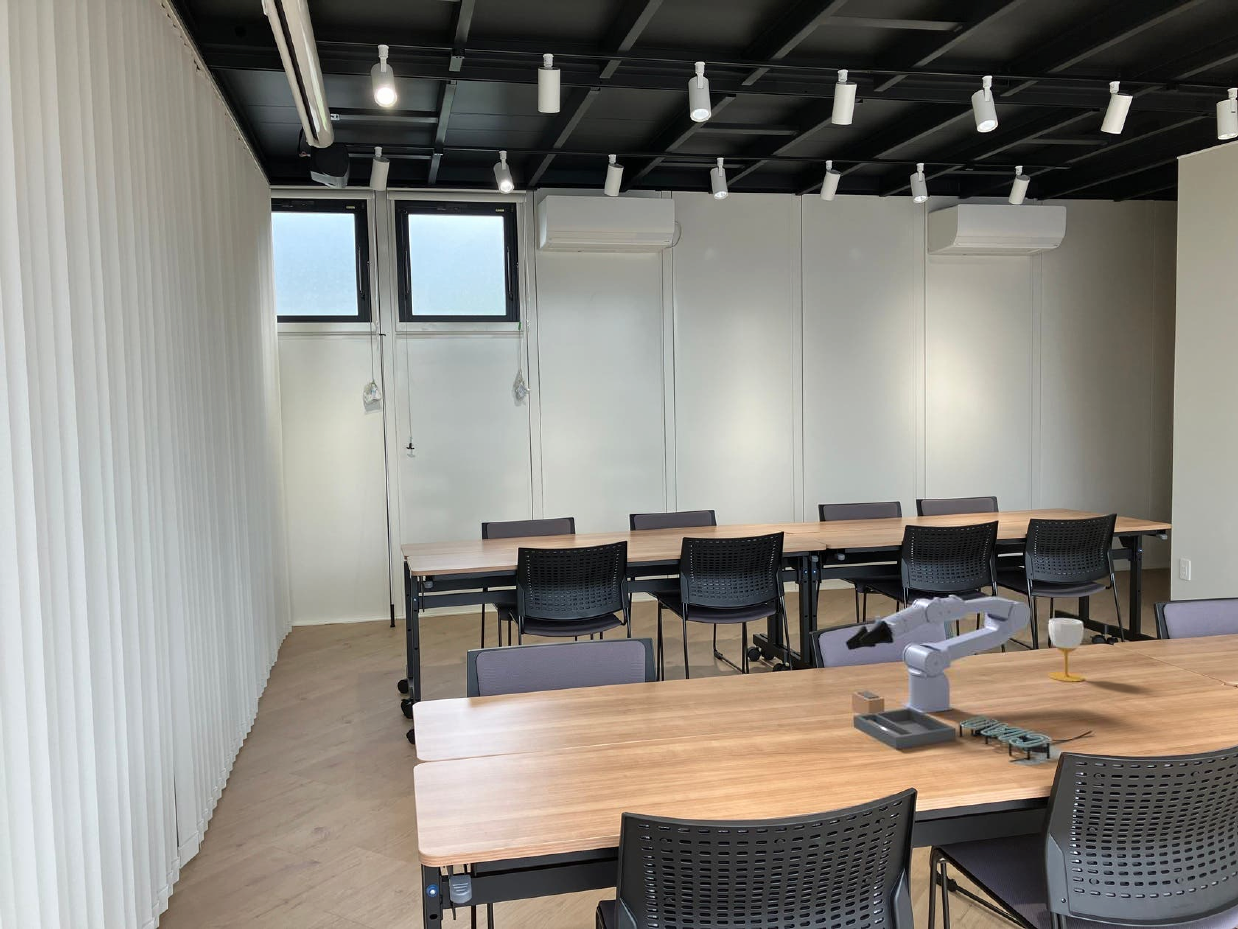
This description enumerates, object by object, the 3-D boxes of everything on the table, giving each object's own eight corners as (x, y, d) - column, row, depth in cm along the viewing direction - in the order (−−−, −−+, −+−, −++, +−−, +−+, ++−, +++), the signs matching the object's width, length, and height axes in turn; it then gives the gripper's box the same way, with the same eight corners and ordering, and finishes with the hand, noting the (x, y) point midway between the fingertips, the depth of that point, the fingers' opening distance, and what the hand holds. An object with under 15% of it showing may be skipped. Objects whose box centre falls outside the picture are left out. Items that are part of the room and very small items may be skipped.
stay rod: (865, 728, 201) (865, 720, 201) (873, 727, 202) (872, 718, 201) (898, 745, 190) (897, 737, 189) (905, 744, 190) (904, 735, 190)
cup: (1090, 681, 235) (1090, 624, 235) (1058, 682, 235) (1057, 625, 235) (1073, 672, 244) (1073, 617, 244) (1042, 673, 245) (1041, 618, 244)
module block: (867, 710, 216) (867, 689, 216) (884, 718, 209) (884, 697, 209) (852, 712, 214) (852, 691, 214) (868, 720, 208) (868, 699, 207)
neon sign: (1114, 725, 190) (1025, 750, 176) (1114, 744, 190) (1025, 770, 176) (1030, 700, 208) (945, 720, 195) (1031, 717, 209) (945, 739, 195)
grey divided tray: (909, 719, 207) (909, 707, 207) (955, 741, 192) (955, 728, 192) (853, 728, 202) (853, 715, 202) (896, 751, 187) (896, 737, 187)
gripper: (878, 613, 221) (835, 632, 217) (907, 605, 207) (861, 625, 203) (890, 639, 219) (846, 658, 215) (920, 632, 206) (874, 653, 202)
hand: (854, 644), depth 209 cm, fingers open, 7 cm apart
